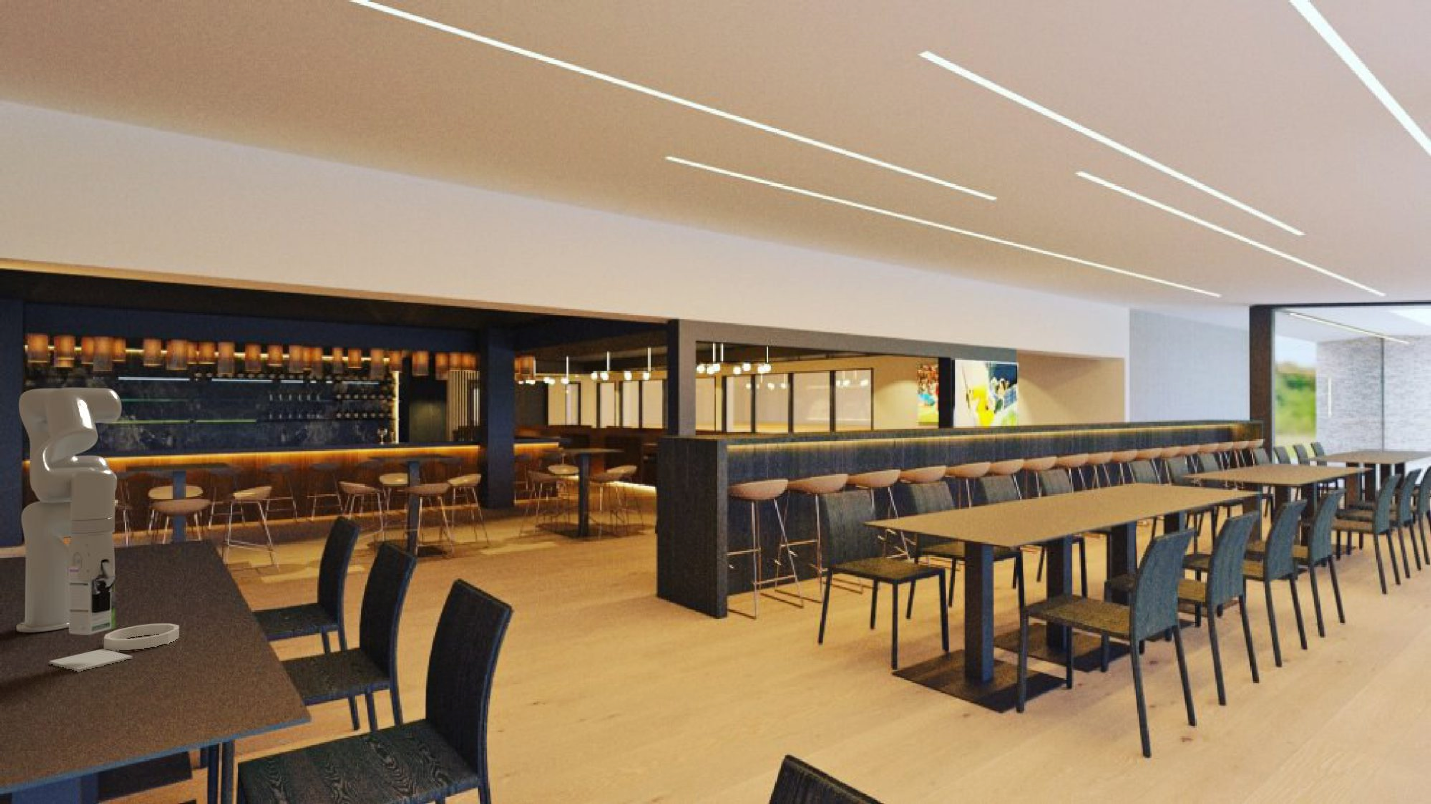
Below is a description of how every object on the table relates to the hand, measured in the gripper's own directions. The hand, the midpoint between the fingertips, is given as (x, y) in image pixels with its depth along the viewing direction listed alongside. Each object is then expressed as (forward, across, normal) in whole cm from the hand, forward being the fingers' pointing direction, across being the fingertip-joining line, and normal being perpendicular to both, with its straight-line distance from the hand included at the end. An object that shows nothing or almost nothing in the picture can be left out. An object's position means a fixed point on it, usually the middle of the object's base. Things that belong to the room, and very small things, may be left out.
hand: (91, 609), depth 170 cm
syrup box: (+5, 0, 0) cm, 5 cm away
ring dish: (+11, -6, +13) cm, 18 cm away
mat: (+11, 0, 0) cm, 11 cm away
